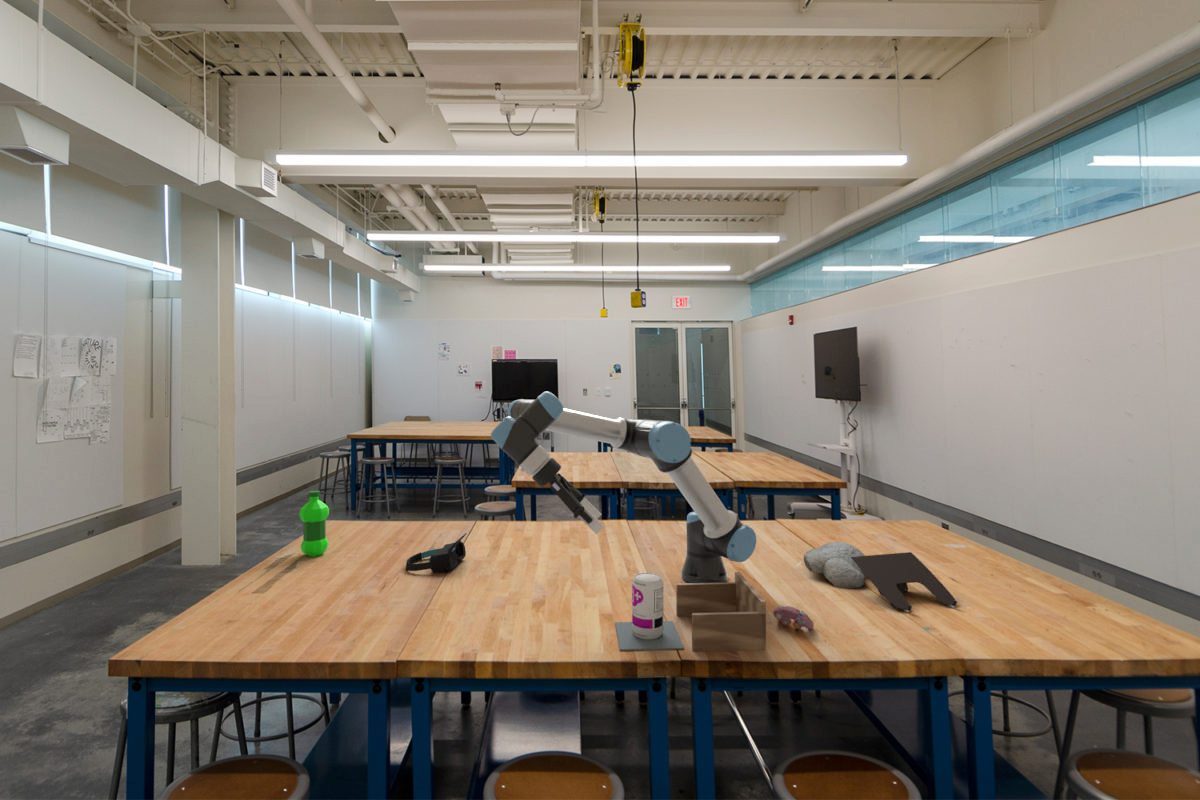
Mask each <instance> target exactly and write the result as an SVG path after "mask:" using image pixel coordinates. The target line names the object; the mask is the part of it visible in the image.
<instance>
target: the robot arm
mask: <svg viewBox="0 0 1200 800" xmlns="http://www.w3.org/2000/svg"><path fill="white" fill-rule="evenodd" d="M562 403H563V402H561V401H560V399H559V398H558V397H557V396H556V395H555V394H553V393H552V392H551V391H548V390H547V391H543V392H542V393H541V394H540V395H538V396H537V398H536V399H525V398H520V399H516V400H513V401H512V402H511V403H510V404H508V405H509V406H508V407H507V411H506V412H507V416H506V417H505V418H504V419H503V420H501V421H500V423H498V424H497V426H496V427H494V428H493V430H492V431H491V432H490V437H491V439H492V440H493V442H495V444H497V446H498V447H499V448H500V449H501V450H502V451H503V452H504V453H506V455H507V456H508V457H510V458H511V459H512V460H513V461H514V463H515V464H517V465H518V466H519V467H520V472H525V473H526V474H527V475H528V476H532V480H533V481H534V483H536V484H537V485H538V486H539V487H541V488H543V487H545V486H547V484H549V485H550V487H549V488H550V490H551V491H552V492H553V493H554V494H556V495H557V497H558V498H559V499H560V500H561V501H562V502H563V503H564V505H565V506H566V507H567V508H568V509H569V510H570V511H571V513H572V514H573V518H575V519H577V518H579V519H580V520H581V521H582V522H583V524H584V525H586V526H587V527H588V528H589V529H590V530H591V531H592V532H593V533H595V535H598V533H600V532H601V530H603V529H604V528H605V525H604V524H603V523H602V522H600V520H599V518H600V516H602V513H601V512H600V511H599V510H598V509H597V508H596V506H594V505H593V504H592V503H591V501H589V500H588V499H587V498H586V496H587V494H585V492H581V491H579V489H577V488H576V487H575V486H574V485H573V484H571V483H570V482H569V481H568V480H567V479H566V478H565V477H564V476H563V475H561V473H559V472H560V470H561V469H562V465H560V463H559V462H558V461H557V460H556V459H555V458H553V457H550V456H551V455H550V453H549V452H548V451H547V450H546V449H545V448H544V447H542V445H541V444H539V443H538V442H537V441H536V440H537V439H538V438H539V437H540V436H541V435H542V434H543V433H544V432H545V431H548V432H553V433H556V434H562V435H565V436H566V435H568V436H572V437H576V438H582V439H586V440H591V441H594V442H601V443H605V444H610V446H611V447H612V448H614V449H618V450H622V451H625V452H628V453H631V454H634V455H636V456H640V457H643V458H648V459H650V460H651V461H652V462H653V463H654V464H655V466H656V468H657V469H658V470H659V471H660V473H662V474H667V475H668V476H669V478H671V480H672V481H673V483H674V484H675V486H676V487H677V489H678V490H679V492H680V493H681V494H682V496H683V497H684V498H685V500H686V501H687V503H688V504H689V506H690V507H691V508H692V510H693V511H691V512H689V513H688V514H687V516H686V523H685V526H686V557H685V559H684V563H683V565H682V569H681V579H682V580H683V581H684V582H685V583H727V579H728V578H727V570H726V567H725V565H724V561H723V558H725V559H727V560H729V561H731V562H735V563H742V562H746V561H747V560H748V559H750V557H751V556H752V555H753V554H754V551H755V550H756V544H757V534H756V532H755V530H754V529H753V528H752V527H751V526H749V525H747V524H743V523H742V521H741V520H740V518H739V517H738V515H737V514H736V513H735V512H734V511H732V510H729V509H727V508H726V507H725V505H724V503H723V502H722V501H721V499H720V497H718V495H717V494H716V491H714V489H713V488H712V486H711V485H710V482H709V481H708V480H707V479H706V477H705V475H704V474H703V473H702V471H701V470H700V468H699V467H698V466H697V464H696V462H695V461H694V460H693V458H692V457H693V449H692V444H691V443H692V439H691V436H690V434H689V431H688V430H687V429H686V428H685V427H684V426H683V425H682V424H680V423H677V422H674V421H671V420H654V419H630V418H624V417H618V418H616V419H614V418H609V417H605V416H601V415H595V414H593V413H592V414H591V413H587V412H582V411H578V410H575V409H574V410H573V409H569V408H566V407H565V408H564V405H563V404H562Z"/></svg>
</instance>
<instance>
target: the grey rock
mask: <svg viewBox="0 0 1200 800" xmlns="http://www.w3.org/2000/svg"><path fill="white" fill-rule="evenodd" d="M856 556H866V555H865V553H864V552H863V551H861V550H860V549H859V548H858V547H856V546H854V545H852V544H850V543H847V542H843V541H833V542H827V543H825V544H823V545H822V546H820V547H817V548H811V549H810V550H807V552H805V553H804V554H803V562H804V565H805V567H806V569H808V571H810V572H814V573H816V574H823V576H824V578H826V579H827V580H828V581H829V582H830V584H832V585H833V587H835V588H841V589H843V588H844V589H860V588H863V586H864V584H865V579H868V577H867V576H866V575H865V574H864V573H863V572H862V570H861V569H860V568H859V567H858V565H857V564H856V563H855V562H854V560H853V559H851V557H856Z"/></svg>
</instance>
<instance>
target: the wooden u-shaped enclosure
mask: <svg viewBox="0 0 1200 800" xmlns="http://www.w3.org/2000/svg"><path fill="white" fill-rule="evenodd" d="M675 586H676V587H675V588H676V589H675V590H676V591H675V593H676V596H675V597H676V599H675V601H676V603H675V605H676V606H675V607H676V608H675V609H676V611H675V612H676V613H675V614H676V616H677V617H691V641H692V642H691V650H692V652H712V651H714V652H717V651H718V652H719V651H722V652H723V651H757V650H758V651H759V650H761V651H763V650H766V649H767V647H766V646H767V640H766V639H767V633H766V631H767V619H766V617H767V612H766V611H767V608H766V607H767V601H766V600H765V599H764V598H763V597H762V596H761V594H759V592H758V591H757V590H756V589H755V588H754V587H753V586H752V585H751V583H750V582H749V581H748V580H747V579H746V578H745V577H744V575H742V574H741V572H739V571H734V582H725V583H688V582H684V583H681V582H679V583H676V585H675Z"/></svg>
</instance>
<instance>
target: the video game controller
mask: <svg viewBox="0 0 1200 800" xmlns="http://www.w3.org/2000/svg"><path fill="white" fill-rule="evenodd" d="M772 615H773V616H774V617H775V618H776V619H777V620H778V621H780V622H781V623H782V625H784V626H786V627H789V626H790V625H791V624H792V626H793V627H794V629H796V630H802V628H806V629H807V630H813V629H814V624H815V623H814V621H813V620H812V619H811V618H810V616H809V615H808V614H807V613H805V611H803V610H800V609H797V607H794V606H790V605H789V606H787V605H785V606H783V605H782V604H780V605H779V606H777V607H776V608H774V610H773V612H772ZM792 621H793V623H792Z"/></svg>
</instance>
